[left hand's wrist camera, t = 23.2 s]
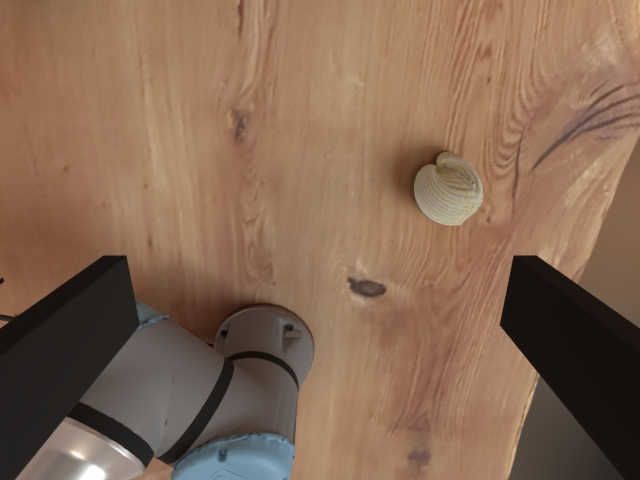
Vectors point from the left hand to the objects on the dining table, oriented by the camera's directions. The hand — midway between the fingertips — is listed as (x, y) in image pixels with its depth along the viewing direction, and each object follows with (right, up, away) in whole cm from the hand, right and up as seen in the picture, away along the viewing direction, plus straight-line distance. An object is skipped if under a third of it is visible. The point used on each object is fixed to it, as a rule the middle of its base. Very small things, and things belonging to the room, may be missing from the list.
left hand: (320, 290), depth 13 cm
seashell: (+16, +9, +35) cm, 39 cm away
